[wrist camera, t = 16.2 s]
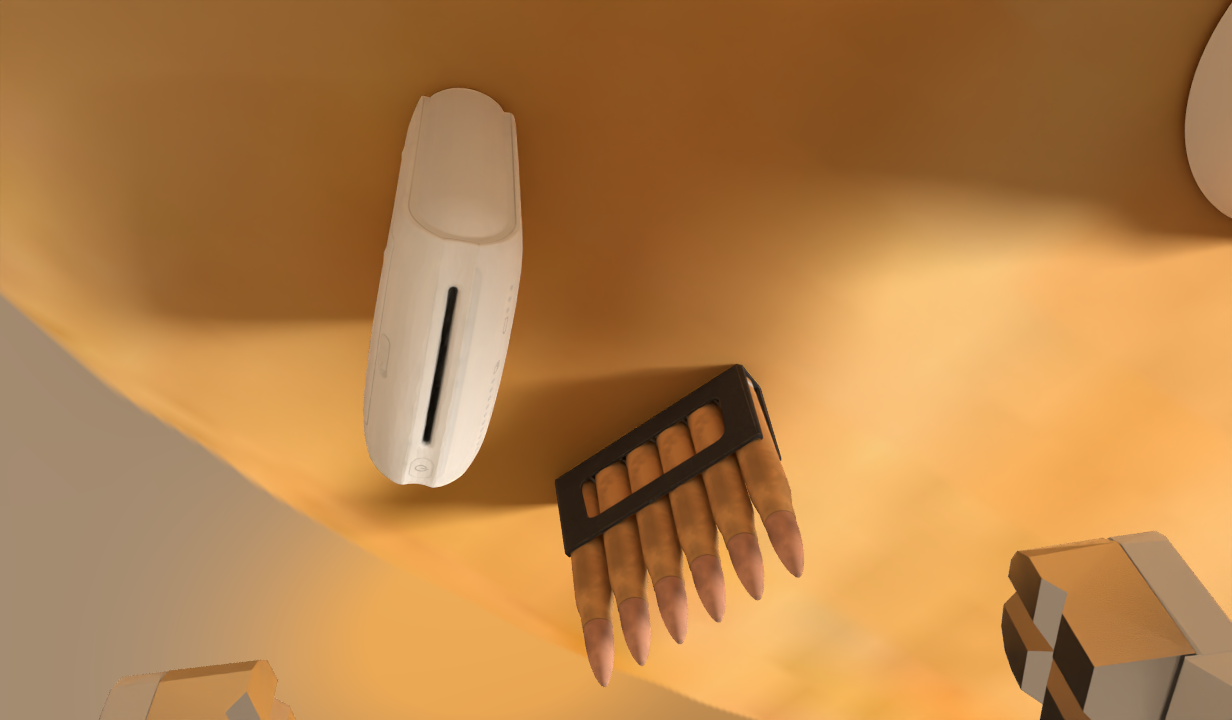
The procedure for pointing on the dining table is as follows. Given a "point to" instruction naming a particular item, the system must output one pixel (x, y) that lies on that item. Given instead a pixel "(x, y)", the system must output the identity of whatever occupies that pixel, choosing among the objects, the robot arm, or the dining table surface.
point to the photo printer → (445, 290)
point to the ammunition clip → (675, 515)
